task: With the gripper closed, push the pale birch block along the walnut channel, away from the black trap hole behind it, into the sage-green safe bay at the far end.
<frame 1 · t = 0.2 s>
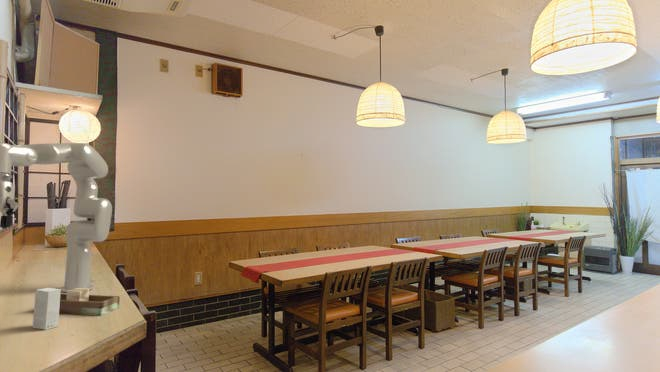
birch block: (77, 303, 141), point 2 cm above the worktop, touching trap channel
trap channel: (78, 310, 141), on the worktop
skincare box: (45, 327, 121), on the worktop
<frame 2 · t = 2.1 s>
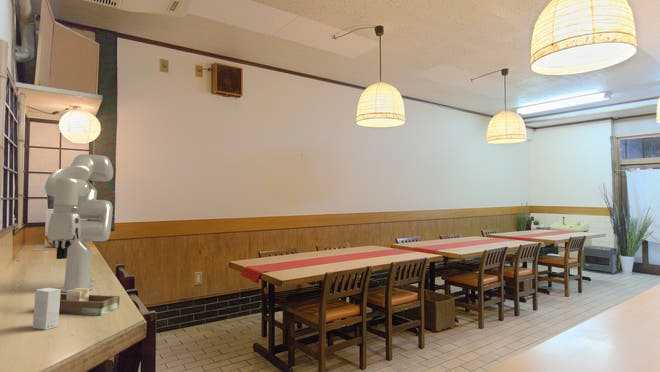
hand: (61, 258, 143), 19 cm above the worktop, fingers closed
nothing on the worktop moved.
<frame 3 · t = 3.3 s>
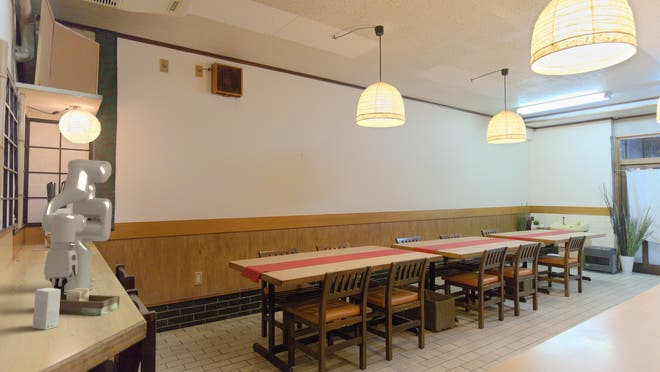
hand: (58, 296, 141), 5 cm above the worktop, fingers closed
nothing on the worktop moved.
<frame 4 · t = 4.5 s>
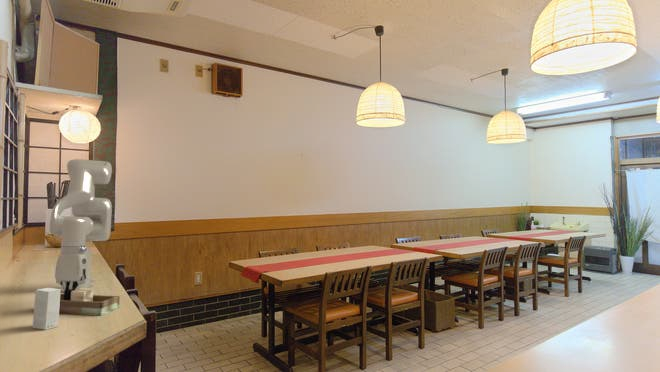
hand: (69, 299, 141), 4 cm above the worktop, fingers closed
birch block: (81, 303, 141), point 3 cm above the worktop, touching gripper
everything else where it was.
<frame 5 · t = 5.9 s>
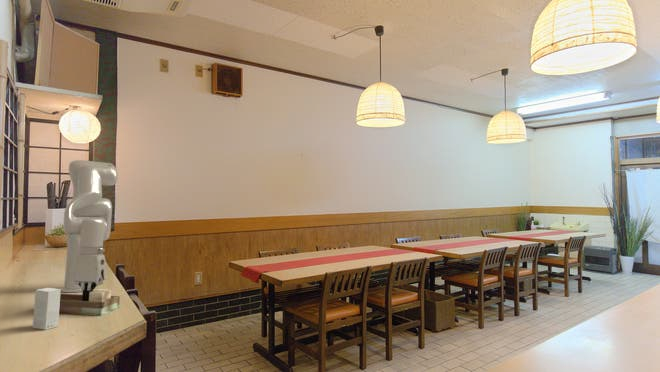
hand: (87, 300, 141), 4 cm above the worktop, fingers closed
birch block: (99, 304, 140), point 2 cm above the worktop, touching gripper, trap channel
everything else where it was.
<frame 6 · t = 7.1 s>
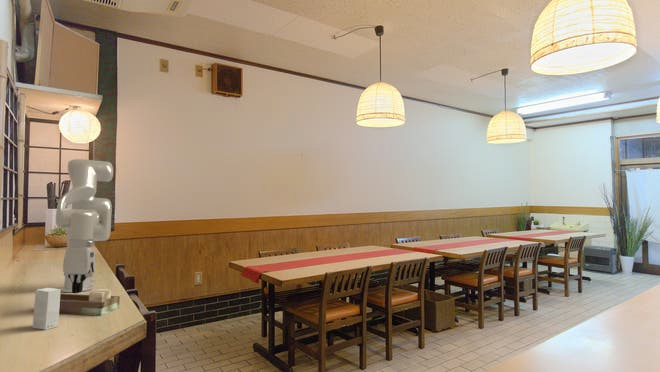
hand: (76, 292, 142), 6 cm above the worktop, fingers closed
birch block: (99, 304, 140), point 2 cm above the worktop, touching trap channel
everything else where it was.
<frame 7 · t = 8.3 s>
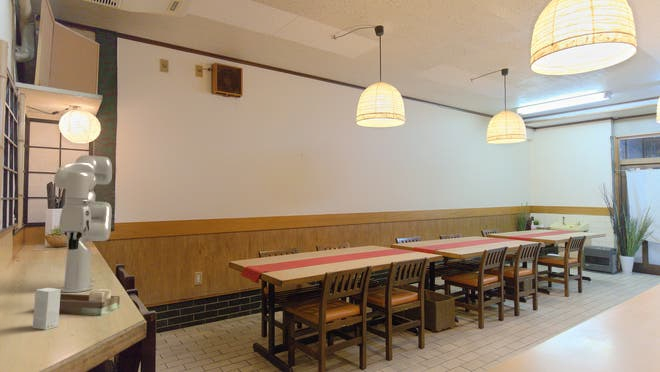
hand: (73, 249, 148), 22 cm above the worktop, fingers closed
nothing on the worktop moved.
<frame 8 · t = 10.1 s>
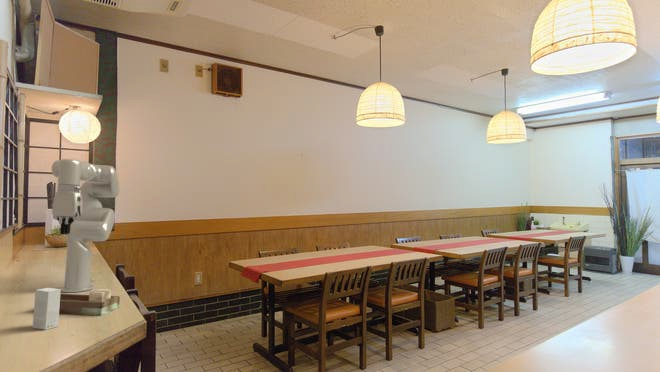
hand: (65, 233, 155), 27 cm above the worktop, fingers closed
nothing on the worktop moved.
at the end: birch block 1.4 cm from the target spot, point 2.5 cm above the worktop; birch block tilted 0° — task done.
